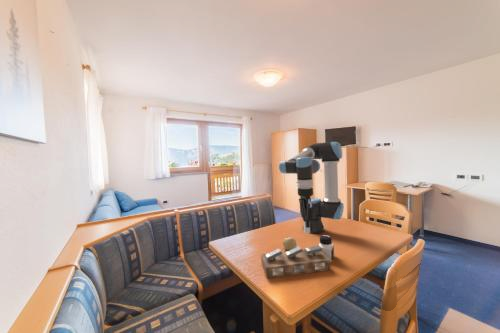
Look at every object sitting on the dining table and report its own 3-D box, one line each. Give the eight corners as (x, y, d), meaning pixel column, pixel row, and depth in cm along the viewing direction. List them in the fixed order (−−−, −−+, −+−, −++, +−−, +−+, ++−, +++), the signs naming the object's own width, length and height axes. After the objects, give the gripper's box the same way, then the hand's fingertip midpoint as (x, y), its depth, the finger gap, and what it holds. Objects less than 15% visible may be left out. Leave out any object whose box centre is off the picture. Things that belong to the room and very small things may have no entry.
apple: (292, 253, 114) (284, 241, 115) (285, 253, 121) (278, 241, 122) (301, 245, 118) (293, 233, 119) (293, 245, 125) (287, 235, 126)
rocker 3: (319, 248, 104) (318, 244, 104) (322, 250, 101) (321, 247, 101) (305, 251, 103) (304, 248, 103) (307, 254, 100) (307, 251, 100)
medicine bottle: (331, 262, 103) (331, 240, 103) (317, 259, 107) (317, 237, 107) (334, 256, 109) (333, 235, 109) (320, 253, 113) (320, 233, 113)
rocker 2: (300, 248, 103) (298, 245, 102) (302, 251, 99) (301, 248, 99) (286, 255, 102) (285, 252, 102) (288, 258, 99) (287, 255, 98)
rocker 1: (280, 250, 101) (279, 247, 101) (282, 253, 98) (281, 250, 98) (266, 257, 100) (265, 254, 100) (268, 260, 97) (266, 257, 97)
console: (318, 256, 109) (317, 245, 109) (330, 270, 96) (330, 257, 96) (261, 263, 105) (260, 251, 105) (266, 278, 92) (266, 264, 92)
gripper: (293, 186, 106) (295, 228, 107) (303, 190, 93) (305, 238, 94) (306, 185, 107) (308, 227, 108) (318, 189, 94) (320, 237, 95)
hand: (307, 232), depth 101 cm, fingers closed
